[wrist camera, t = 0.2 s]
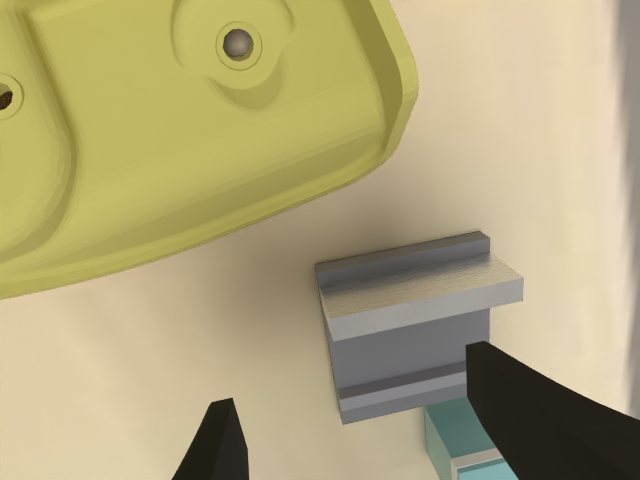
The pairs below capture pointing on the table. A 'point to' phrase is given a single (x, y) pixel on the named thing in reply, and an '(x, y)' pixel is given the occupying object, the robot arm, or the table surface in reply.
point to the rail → (419, 295)
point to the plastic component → (182, 123)
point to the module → (462, 444)
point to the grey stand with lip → (403, 338)
